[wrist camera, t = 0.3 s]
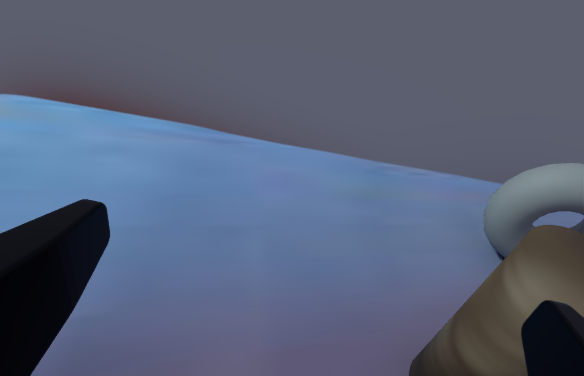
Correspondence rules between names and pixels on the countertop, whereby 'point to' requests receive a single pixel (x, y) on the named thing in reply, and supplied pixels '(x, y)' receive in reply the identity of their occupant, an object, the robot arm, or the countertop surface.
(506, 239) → the donut
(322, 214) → the countertop surface
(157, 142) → the countertop surface
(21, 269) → the robot arm
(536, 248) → the walnut spindle
